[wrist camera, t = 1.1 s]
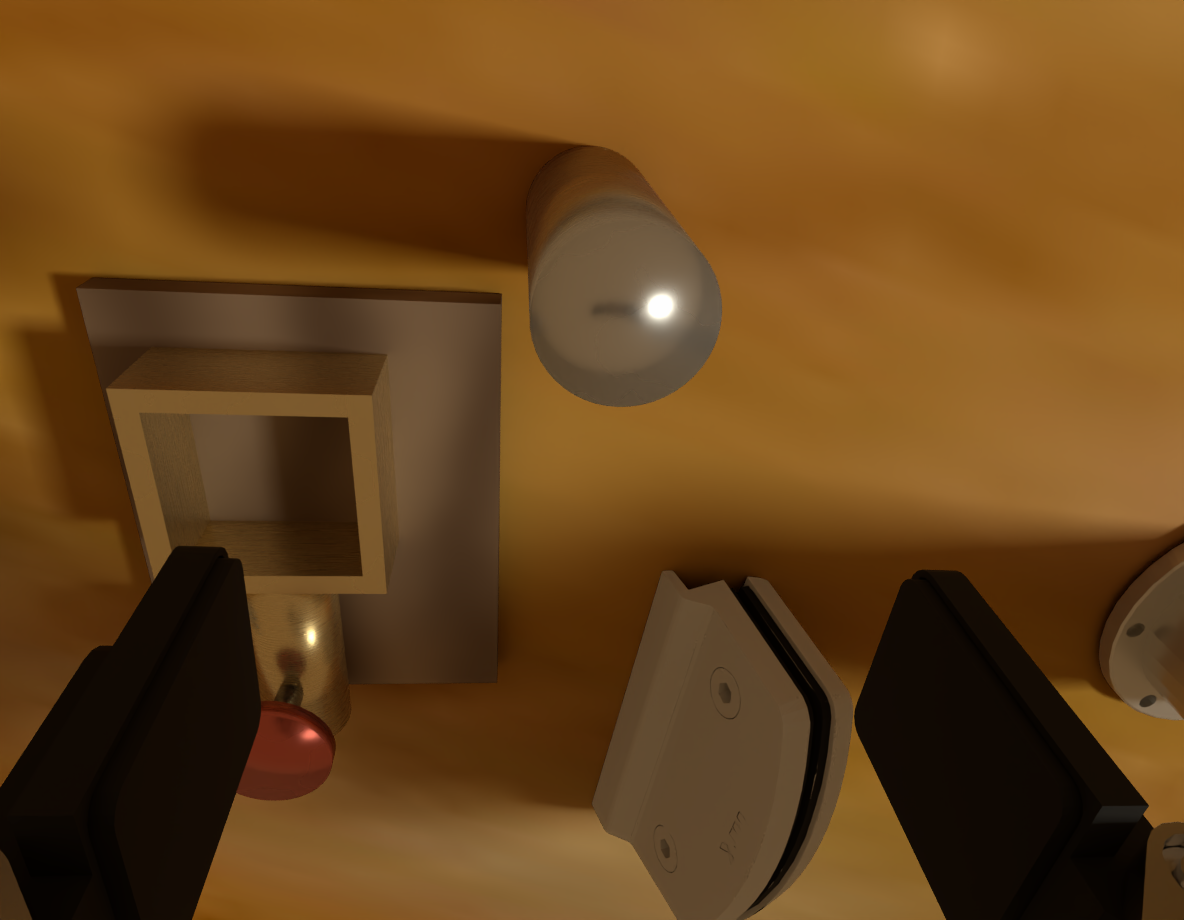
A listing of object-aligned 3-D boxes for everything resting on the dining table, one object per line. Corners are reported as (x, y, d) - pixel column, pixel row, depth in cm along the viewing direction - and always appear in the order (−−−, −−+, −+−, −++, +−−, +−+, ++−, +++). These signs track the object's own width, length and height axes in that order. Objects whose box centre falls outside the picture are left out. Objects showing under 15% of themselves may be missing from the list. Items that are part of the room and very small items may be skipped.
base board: (501, 294, 29) (501, 304, 28) (497, 664, 37) (497, 682, 36) (92, 277, 27) (75, 288, 26) (187, 666, 36) (178, 686, 35)
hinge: (664, 563, 35) (799, 737, 28) (749, 554, 38) (896, 712, 30) (589, 808, 43) (679, 996, 36) (663, 789, 45) (763, 962, 38)
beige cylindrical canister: (658, 150, 27) (735, 226, 17) (645, 277, 29) (707, 409, 19) (527, 142, 26) (532, 216, 17) (524, 272, 28) (527, 404, 19)
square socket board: (387, 354, 28) (353, 442, 22) (408, 683, 36) (387, 811, 30) (151, 346, 27) (53, 436, 22) (225, 685, 35) (167, 817, 29)
